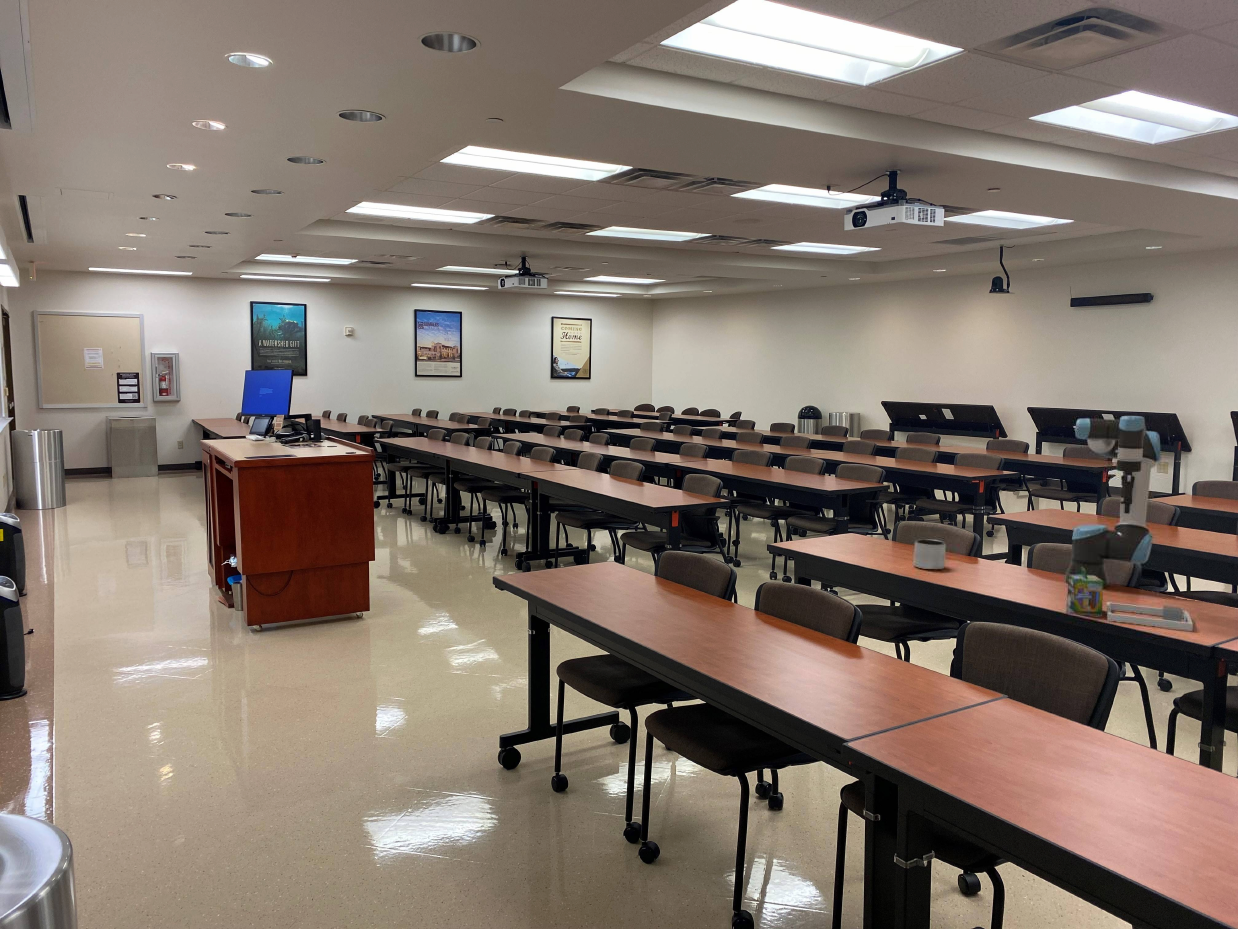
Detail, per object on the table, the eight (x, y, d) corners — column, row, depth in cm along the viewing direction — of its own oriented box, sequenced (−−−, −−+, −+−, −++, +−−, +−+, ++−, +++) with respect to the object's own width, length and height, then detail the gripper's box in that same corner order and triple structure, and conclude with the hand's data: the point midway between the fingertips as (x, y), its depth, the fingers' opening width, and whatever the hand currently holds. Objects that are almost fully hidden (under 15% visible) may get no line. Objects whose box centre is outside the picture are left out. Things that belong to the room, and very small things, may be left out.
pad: (1066, 605, 305) (1066, 603, 305) (1101, 609, 300) (1101, 607, 300) (1066, 613, 295) (1066, 611, 295) (1102, 617, 290) (1102, 615, 290)
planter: (947, 566, 363) (948, 540, 361) (941, 572, 352) (942, 546, 351) (917, 562, 369) (918, 537, 368) (910, 568, 359) (911, 542, 357)
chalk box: (1102, 613, 292) (1105, 572, 290) (1073, 612, 294) (1076, 570, 292) (1093, 606, 301) (1096, 565, 299) (1065, 604, 303) (1068, 564, 301)
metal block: (1162, 619, 288) (1163, 605, 287) (1179, 622, 285) (1180, 607, 285) (1163, 624, 283) (1164, 609, 283) (1181, 626, 281) (1182, 611, 280)
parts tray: (1106, 608, 300) (1106, 601, 300) (1186, 618, 289) (1187, 611, 289) (1107, 620, 286) (1107, 613, 286) (1192, 631, 275) (1192, 624, 275)
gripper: (1115, 455, 310) (1111, 512, 312) (1118, 463, 288) (1113, 524, 291) (1139, 457, 306) (1135, 514, 309) (1144, 464, 284) (1139, 526, 287)
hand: (1124, 519), depth 300 cm, fingers open, 13 cm apart
